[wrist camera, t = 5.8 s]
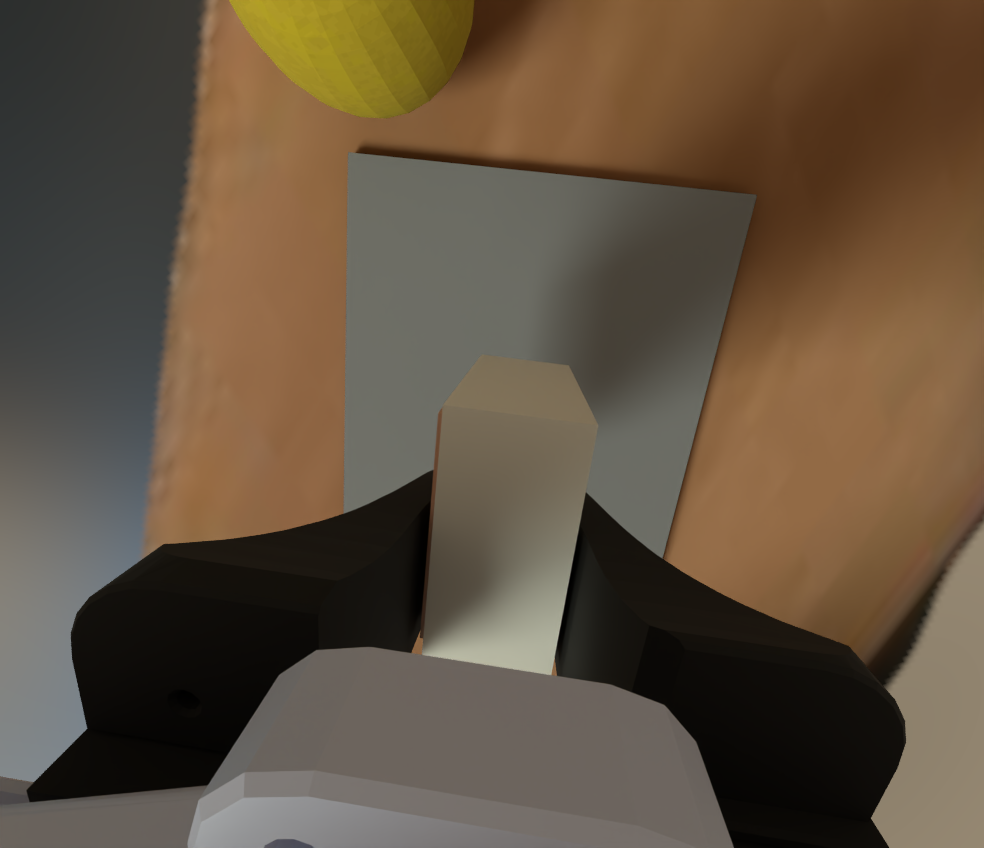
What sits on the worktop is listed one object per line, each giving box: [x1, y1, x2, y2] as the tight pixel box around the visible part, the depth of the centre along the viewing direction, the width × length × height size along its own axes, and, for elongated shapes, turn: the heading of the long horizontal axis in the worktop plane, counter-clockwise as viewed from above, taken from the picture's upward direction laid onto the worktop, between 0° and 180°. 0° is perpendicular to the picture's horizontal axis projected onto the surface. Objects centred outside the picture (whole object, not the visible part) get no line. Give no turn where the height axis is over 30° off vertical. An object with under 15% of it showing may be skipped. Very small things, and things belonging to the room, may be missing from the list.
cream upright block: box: [420, 355, 598, 675], centre depth 11 cm, size 3×5×6 cm, turn 174°
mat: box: [344, 152, 757, 558], centre depth 17 cm, size 18×13×1 cm
